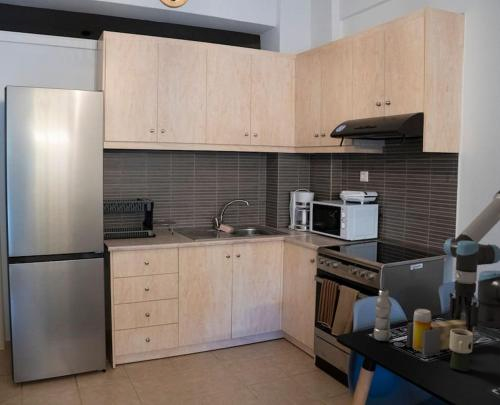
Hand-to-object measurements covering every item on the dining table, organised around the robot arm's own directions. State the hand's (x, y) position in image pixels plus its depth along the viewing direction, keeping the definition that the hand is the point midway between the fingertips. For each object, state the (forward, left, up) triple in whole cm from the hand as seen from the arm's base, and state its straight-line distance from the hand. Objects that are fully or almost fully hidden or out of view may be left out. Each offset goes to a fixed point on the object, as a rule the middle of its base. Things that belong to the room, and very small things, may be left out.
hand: (462, 339), depth 189 cm
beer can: (+19, 0, -2) cm, 19 cm away
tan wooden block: (+6, 0, -1) cm, 7 cm away
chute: (+19, 0, -2) cm, 19 cm away
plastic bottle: (+28, -13, -2) cm, 31 cm away
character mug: (+18, +18, -2) cm, 25 cm away
